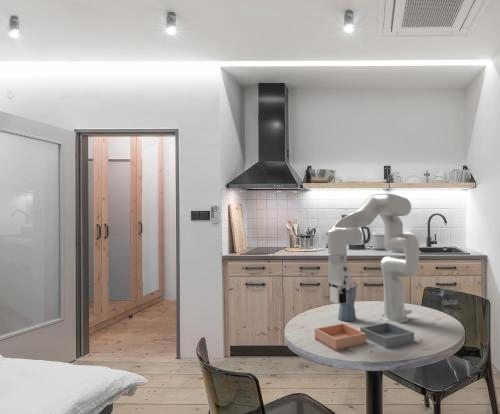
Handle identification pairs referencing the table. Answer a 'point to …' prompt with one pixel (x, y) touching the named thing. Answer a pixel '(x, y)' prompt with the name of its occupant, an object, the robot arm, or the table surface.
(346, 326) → the bin
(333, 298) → the stone block
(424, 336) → the table surface
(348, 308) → the moka pot
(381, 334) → the bin
